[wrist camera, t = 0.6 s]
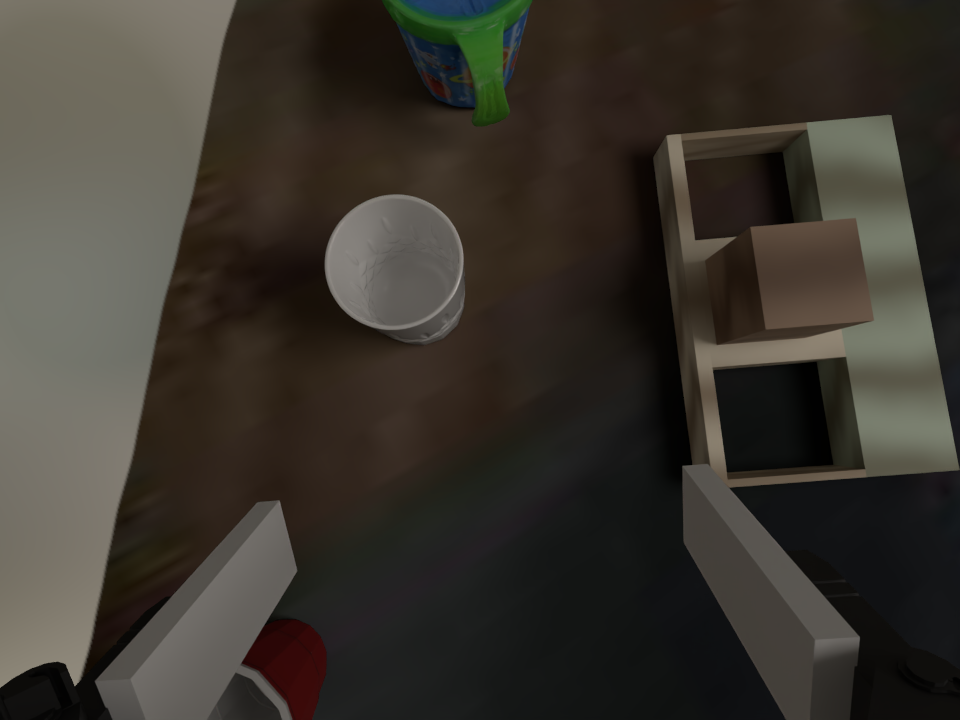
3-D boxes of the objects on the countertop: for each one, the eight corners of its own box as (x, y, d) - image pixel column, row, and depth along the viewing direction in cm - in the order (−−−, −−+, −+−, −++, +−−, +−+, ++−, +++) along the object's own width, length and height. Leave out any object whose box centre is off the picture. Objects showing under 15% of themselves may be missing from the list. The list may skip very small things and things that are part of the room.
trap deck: (919, 465, 35) (959, 469, 32) (694, 482, 35) (713, 488, 32) (859, 139, 37) (891, 115, 34) (653, 157, 38) (666, 135, 35)
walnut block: (805, 338, 33) (874, 320, 27) (716, 345, 33) (765, 329, 27) (791, 253, 34) (856, 217, 28) (705, 260, 34) (750, 227, 28)
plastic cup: (394, 633, 34) (341, 749, 22) (309, 772, 33) (206, 969, 22) (271, 548, 35) (157, 616, 23) (185, 681, 34) (21, 822, 22)
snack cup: (389, -6, 40) (354, -148, 30) (514, -27, 40) (521, -176, 30) (416, 169, 38) (387, 80, 28) (547, 147, 38) (565, 51, 28)
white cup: (452, 239, 38) (437, 175, 28) (485, 333, 37) (482, 302, 27) (357, 272, 37) (307, 220, 28) (387, 367, 37) (347, 348, 27)
